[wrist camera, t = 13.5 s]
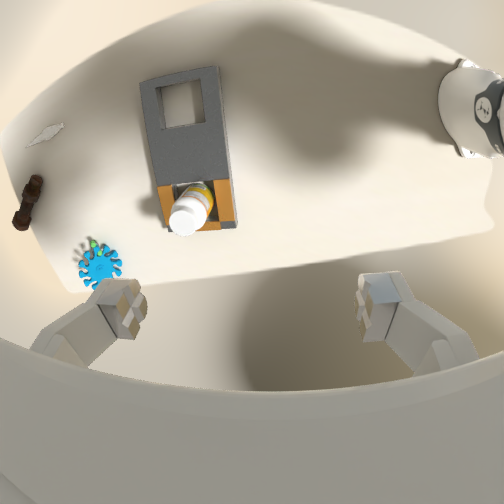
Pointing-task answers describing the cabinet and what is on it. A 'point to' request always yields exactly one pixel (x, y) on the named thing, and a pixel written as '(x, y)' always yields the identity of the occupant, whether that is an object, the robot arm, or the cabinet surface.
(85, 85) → the cabinet surface
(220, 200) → the gray and orange holder
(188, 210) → the supplement bottle
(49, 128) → the stone spearhead
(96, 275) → the blue lobed piece
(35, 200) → the bolt
